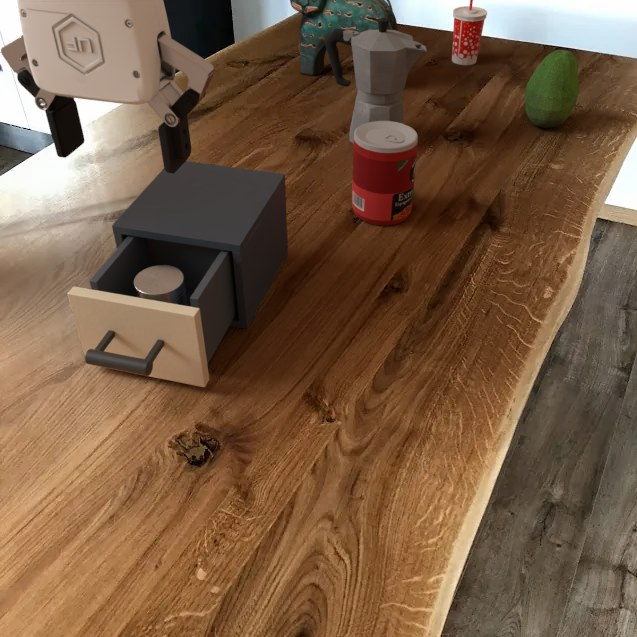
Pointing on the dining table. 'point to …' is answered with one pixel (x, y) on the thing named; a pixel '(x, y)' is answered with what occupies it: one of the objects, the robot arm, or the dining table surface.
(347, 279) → the dining table surface
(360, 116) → the coffeepot
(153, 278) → the cylinder
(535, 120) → the avocado
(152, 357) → the drawer
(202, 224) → the cabinet
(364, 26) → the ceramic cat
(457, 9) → the beverage cup
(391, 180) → the canned food
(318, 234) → the dining table surface
